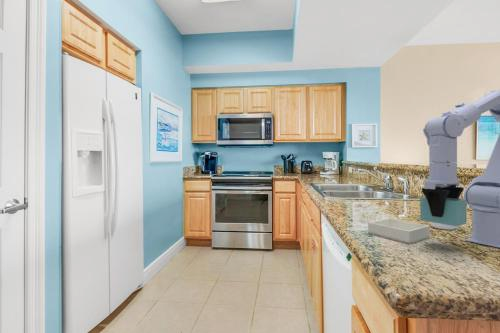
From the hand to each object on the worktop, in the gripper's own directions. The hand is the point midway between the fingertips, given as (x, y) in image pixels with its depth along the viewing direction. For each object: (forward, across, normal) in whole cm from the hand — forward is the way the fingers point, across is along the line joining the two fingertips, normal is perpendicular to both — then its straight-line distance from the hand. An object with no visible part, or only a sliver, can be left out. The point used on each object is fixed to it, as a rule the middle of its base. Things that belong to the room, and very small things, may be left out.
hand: (442, 215), depth 65 cm
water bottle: (+9, -23, -9) cm, 26 cm away
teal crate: (+2, 0, 0) cm, 2 cm away
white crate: (+8, -1, -12) cm, 15 cm away
